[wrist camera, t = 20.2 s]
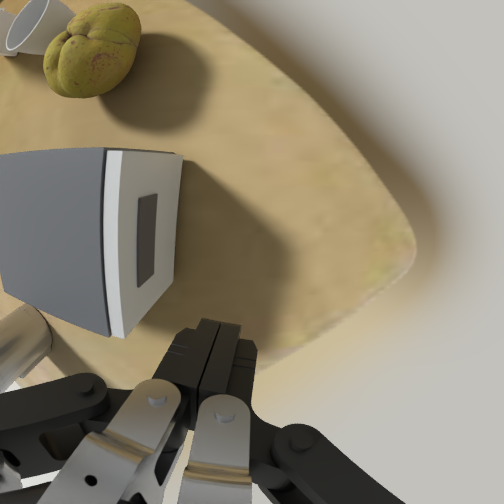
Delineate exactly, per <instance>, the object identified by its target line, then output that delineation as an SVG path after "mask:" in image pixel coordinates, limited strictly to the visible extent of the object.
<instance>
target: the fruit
mask: <svg viewBox="0 0 504 504" xmlns="http://www.w3.org/2000/svg"><path fill="white" fill-rule="evenodd" d="M140 36H141V24H140V20H139V17H138V15H137V14H136V12H135V11H134V10H133V9H132V8H131V7H129V6H127V5H125V4H122V3H106V4H101V5H97V6H94V7H91V8H89V9H87V10H85V11H83V12H81V13H79V14H78V15H76V16H75V17H74V18H73V19H72V20H71V21H70V22H69V23H68V26H67V30H66V31H64V32H62V33H60V34H59V35H58V36H57V37H55V38H54V40H53V41H52V42H51V43H50V44H49V46H48V48H47V50H46V52H45V56H44V62H43V69H44V73H45V76H46V79H47V82H48V84H49V86H50V88H51V89H52V90H53V91H54V92H55V93H57V94H59V95H61V96H64V97H68V98H91V97H95V96H98V95H101V94H104V93H106V92H108V91H110V90H112V89H113V88H114V87H116V86H117V85H118V84H119V83H120V82H121V81H122V80H123V79H124V78H125V76H126V75H127V73H128V72H129V70H130V69H131V67H132V65H133V62H134V59H135V56H136V51H137V48H138V45H139V41H140Z"/></svg>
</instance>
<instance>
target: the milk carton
mask: <svg viewBox="0 0 504 504" xmlns="http://www.w3.org/2000/svg"><path fill="white" fill-rule="evenodd" d="M17 16H18V15H15V14H12V13H9V12H5V11H2V10H0V55H1V56H16V55H17V53H18V52H16V51H10V50H7V48H6V39H7V35H8V33H9V30H10V28H11V26H12V24H13V22H14V20H15V19H16V17H17Z"/></svg>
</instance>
